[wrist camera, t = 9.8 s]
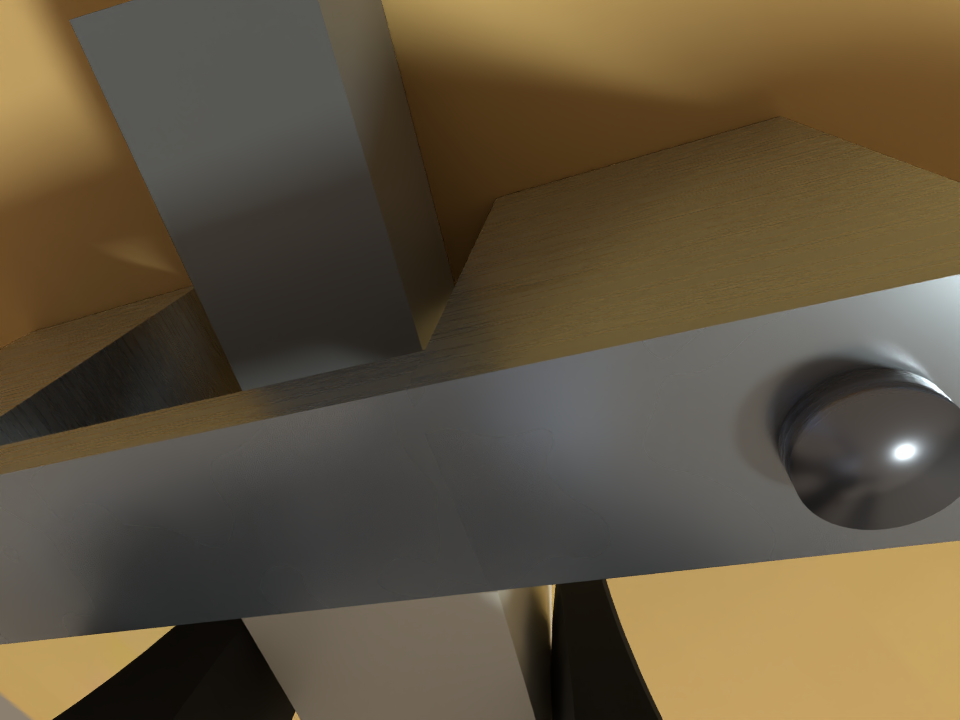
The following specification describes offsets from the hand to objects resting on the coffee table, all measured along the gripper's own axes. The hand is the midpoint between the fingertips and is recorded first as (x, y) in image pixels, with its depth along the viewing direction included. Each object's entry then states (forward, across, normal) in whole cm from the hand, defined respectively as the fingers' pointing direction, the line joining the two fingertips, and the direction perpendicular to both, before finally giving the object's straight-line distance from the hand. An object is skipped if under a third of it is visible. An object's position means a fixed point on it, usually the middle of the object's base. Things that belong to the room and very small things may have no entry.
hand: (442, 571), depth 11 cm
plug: (+1, +1, -4) cm, 4 cm away
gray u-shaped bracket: (+1, +2, -5) cm, 5 cm away
